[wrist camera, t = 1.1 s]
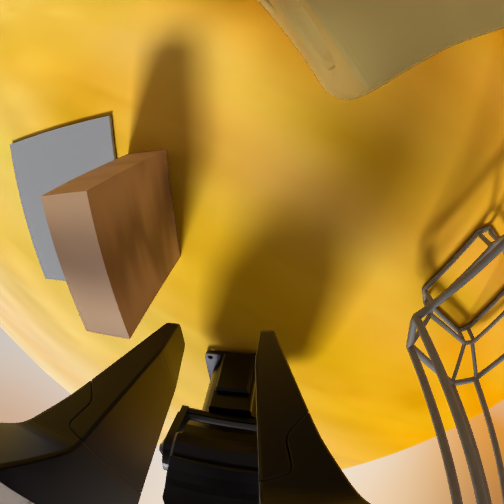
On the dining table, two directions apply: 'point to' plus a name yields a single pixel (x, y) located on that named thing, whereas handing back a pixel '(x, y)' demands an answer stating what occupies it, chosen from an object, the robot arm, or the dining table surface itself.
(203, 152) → the dining table surface
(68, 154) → the grey mat
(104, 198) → the walnut slab
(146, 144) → the dining table surface
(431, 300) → the geometric lantern
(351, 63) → the cheese
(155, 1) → the dining table surface
